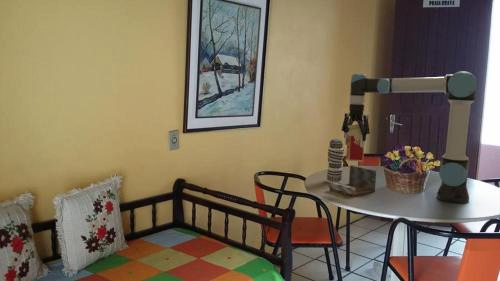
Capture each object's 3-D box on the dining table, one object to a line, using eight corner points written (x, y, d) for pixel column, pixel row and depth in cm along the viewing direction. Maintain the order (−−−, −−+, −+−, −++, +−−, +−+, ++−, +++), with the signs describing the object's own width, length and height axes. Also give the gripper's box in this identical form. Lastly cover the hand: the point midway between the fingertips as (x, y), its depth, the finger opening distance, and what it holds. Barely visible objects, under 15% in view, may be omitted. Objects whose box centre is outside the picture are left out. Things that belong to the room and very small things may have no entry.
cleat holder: (374, 191, 234) (376, 170, 232) (352, 197, 222) (354, 174, 220) (351, 185, 246) (352, 165, 244) (328, 190, 234) (330, 168, 233)
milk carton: (361, 158, 236) (363, 122, 233) (363, 161, 227) (366, 123, 224) (344, 158, 236) (346, 121, 234) (346, 161, 227) (348, 123, 225)
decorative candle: (342, 184, 250) (344, 141, 246) (326, 182, 252) (328, 140, 248) (342, 180, 259) (344, 139, 255) (326, 179, 260) (328, 138, 257)
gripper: (379, 104, 221) (376, 148, 224) (344, 102, 238) (342, 142, 241) (370, 105, 217) (367, 149, 220) (336, 102, 234) (333, 143, 237)
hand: (354, 145), depth 231 cm, fingers closed on milk carton, 9 cm apart
